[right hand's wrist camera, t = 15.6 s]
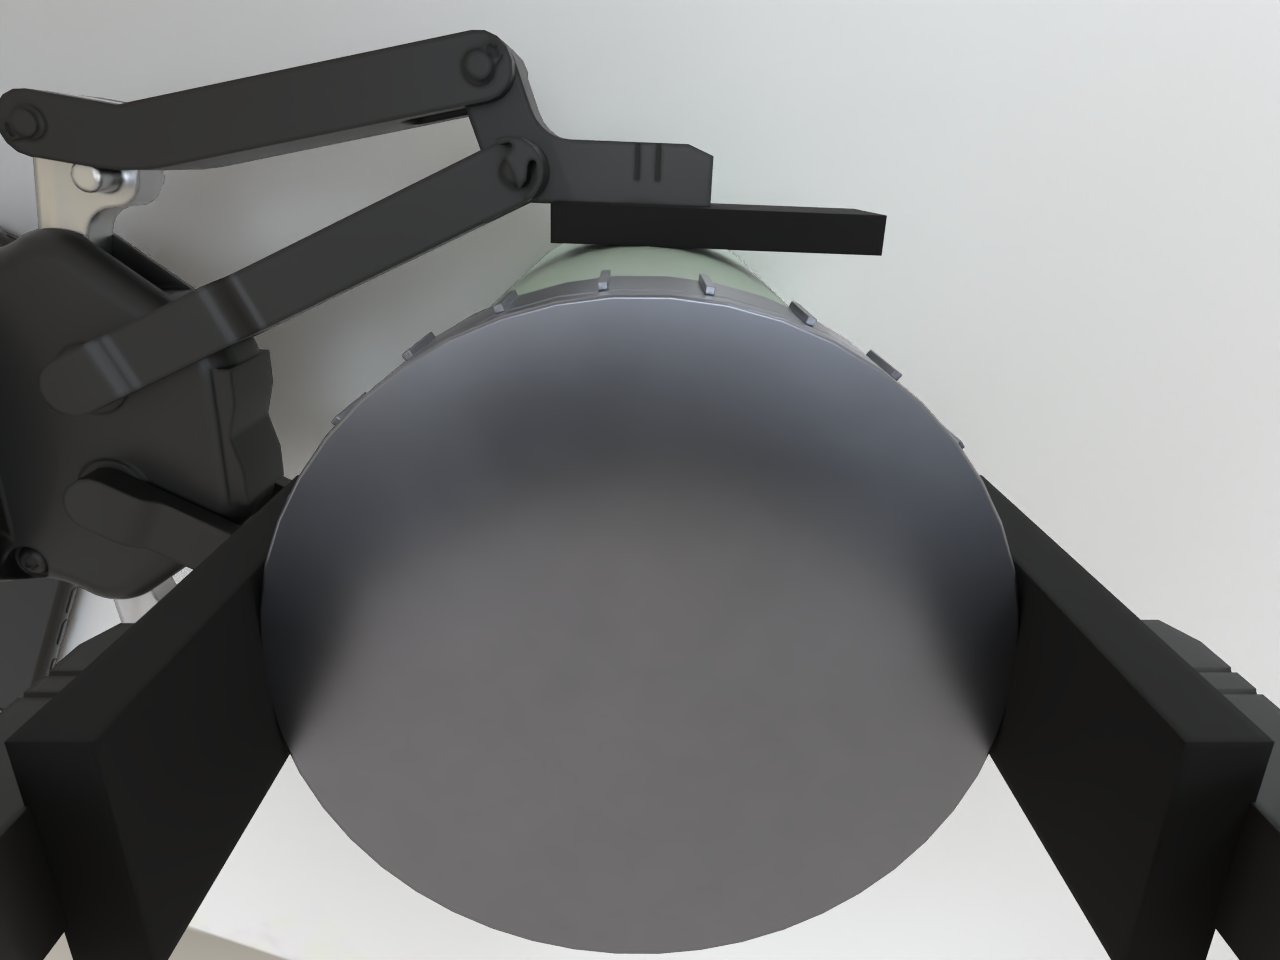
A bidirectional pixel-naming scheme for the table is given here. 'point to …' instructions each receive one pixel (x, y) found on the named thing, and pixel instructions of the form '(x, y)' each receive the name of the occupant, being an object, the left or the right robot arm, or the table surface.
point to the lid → (639, 617)
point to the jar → (640, 267)
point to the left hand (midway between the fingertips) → (839, 446)
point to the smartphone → (30, 621)
